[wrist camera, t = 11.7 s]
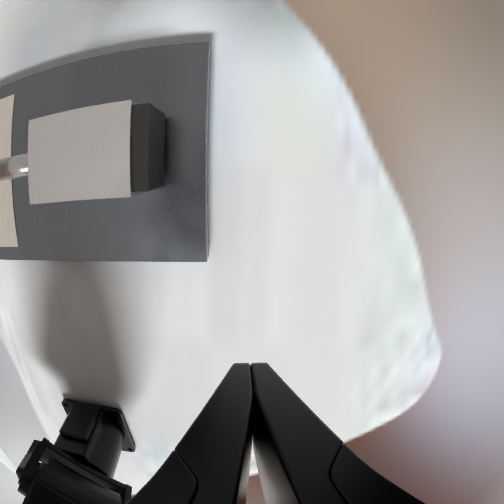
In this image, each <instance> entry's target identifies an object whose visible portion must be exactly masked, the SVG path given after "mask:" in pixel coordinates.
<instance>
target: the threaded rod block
mask: <svg viewBox="0 0 504 504" xmlns="http://www.w3.org/2000/svg"><path fill="white" fill-rule="evenodd" d="M26 176H28V184H29V200H30V205H31V204H41V203H51V202H63V201H75V200H89V199H105V198H123V197H132V196H135V195H138V194H141V193H144V192H147V191H151V190H154V189H157V188H160V187H163V186H165V113H163V112H162V111H160V110H159V109H157V108H156V107H155V106H153V105H152V104H150V103H144V104H138V103H136V102H134V101H132V100H126V101H119V102H112V103H106V104H100V105H94V106H89V107H83V108H78V109H73V110H69V111H64V112H60V113H56V114H51V115H47V116H43V117H40V118H36V119H32V120H29V126H28V152H27V153H23V154H19V155H14V156H10V157H6V158H2V159H0V181H4V180H9V179H15V178H20V177H26Z"/></svg>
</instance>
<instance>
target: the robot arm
mask: <svg viewBox="0 0 504 504" xmlns="http://www.w3.org/2000/svg"><path fill="white" fill-rule="evenodd" d="M62 405H63V407H64V410H65V412H66V414H67V417H66V419H65V421H64V423H63V425H62V427H61V429H60V431H59V432H60V434H59V436H58V438H57V440H56V442H55V444H54V445H53V444H52V443H50V442H49V440H47V439H46V438H43V440H42V442H41V441H38V440H34V441H33V443H32V445H31V447H30V448H29V450H28V452H27V454H26V455H25V457H24V459H23V460H22V462H21V463H20V465H19V466H18V468H17V470H16V474H17V476H18V479H19V482H18V484H20V485H19V488H18V492H20V493H21V494H23V495H24V496H26V497H25V499H24V501H23V504H246V497H247V488H248V479H249V469H250V459H251V448H252V441H253V448H254V453H255V458H256V463H257V468H258V472H259V477H260V481H261V486H262V491H263V495H264V500H265V504H425V503H423V502H422V501H420V500H419V499H417V498H415V497H414V496H412V495H411V494H409V493H407V492H406V491H404V490H403V489H401V488H400V487H398V486H397V485H395V484H394V483H392V482H391V481H389V480H388V479H386V478H385V477H384V476H382V475H381V474H379V473H378V472H377V471H376V470H374V469H373V468H372V467H370V466H369V465H368V464H367V463H366V462H364V461H363V460H362V459H361V458H360V457H359V456H358V455H357V454H355V453H354V452H353V451H352V450H351V449H350V448H349V447H348V446H347V445H346V444H343V441H342V440H341V439H340V438H339V437H338V436H337V435H336V434H335V433H334V432H333V431H332V430H331V429H330V428H329V427H328V426H327V425H326V424H325V423H324V422H323V421H322V420H321V419H320V418H319V417H318V416H317V415H316V414H315V413H314V412H313V411H312V410H311V409H310V408H309V407H308V406H307V405H306V404H305V403H304V402H303V401H302V400H301V399H300V398H299V397H298V396H297V395H296V394H295V393H294V392H293V390H292V389H291V388H290V387H289V386H288V385H287V384H286V383H285V382H284V381H283V380H282V379H281V378H280V377H279V376H278V374H277V373H276V372H275V371H274V370H273V369H272V368H271V367H270V366H269V365H268V364H267V363H252V364H251V365H250V364H249V363H234V364H233V365H232V367H231V368H230V370H229V371H228V373H227V374H226V376H225V377H224V379H223V380H222V382H221V383H220V385H219V386H218V387H217V389H216V390H215V392H214V393H213V395H212V396H211V398H210V399H209V401H208V402H207V404H206V405H205V407H204V408H203V409H202V411H201V412H200V414H199V415H198V417H197V418H196V419H195V421H194V422H193V424H192V425H191V427H190V428H189V429H188V431H187V432H186V434H185V435H184V436H183V438H182V439H181V441H180V442H179V443H178V445H177V446H176V448H175V451H172V453H171V454H170V455H169V457H168V458H167V460H166V461H165V462H164V464H163V465H162V466H161V467H160V469H159V470H158V471H157V472H156V473H155V475H154V476H153V477H152V478H151V479H150V480H149V481H148V482H147V484H146V485H145V486H144V487H143V488H142V489H141V490H140V491H139V492H138V493H137V494H136V495H135V496H134V497H133V498H131V492H132V487H131V486H129V485H127V484H123V483H121V482H119V481H116V480H114V479H113V477H114V473H115V470H116V467H117V463H118V460H119V457H120V454H121V450H123V451H128V452H134V451H135V445H134V443H133V440H132V438H131V435H130V433H129V430H128V428H127V425H126V423H125V420H124V417H123V415H122V412H121V411H120V410H118V409H115V408H109V407H103V406H97V405H92V404H87V403H82V402H77V401H72V400H68V399H63V401H62ZM39 461H41V462H42V463H39Z"/></svg>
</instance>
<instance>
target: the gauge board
mask: <svg viewBox="0 0 504 504" xmlns="http://www.w3.org/2000/svg"><path fill="white" fill-rule="evenodd" d="M210 58H211V48H210V43H193V44H179V45H168V46H159V47H151V48H143V49H137V50H130V51H124V52H119V53H114V54H109V55H104V56H99V57H95V58H90V59H86V60H82V61H78V62H74V63H71V64H67V65H64V66H60V67H57V68H54V69H50V70H47V71H44V72H41V73H38V74H35V75H32V76H30V77H27V78H24V79H22V80H19V81H16V82H14V83H11V84H9V85H7V86H4V87H2V88H0V159H2V158H6V157H10V156H14V155H19V154H23V153H27V152H28V126H29V120H32V119H36V118H40V117H43V116H47V115H51V114H56V113H60V112H64V111H69V110H73V109H78V108H83V107H89V106H94V105H100V104H106V103H112V102H119V101H126V100H132V101H134V102H136V103H138V104H144V103H150V104H152V105H153V106H155V107H156V108H157V109H159V110H160V111H162V112H163V113H165V186H163V187H160V188H157V189H154V190H151V191H147V192H144V193H141V194H138V195H135V196H132V197H123V198H105V199H89V200H75V201H63V202H51V203H41V204H31V205H30V200H29V184H28V176H26V177H20V178H15V179H9V180H4V181H0V259H6V260H61V261H152V262H207V260H208V256H209V251H208V111H209V81H210Z"/></svg>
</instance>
